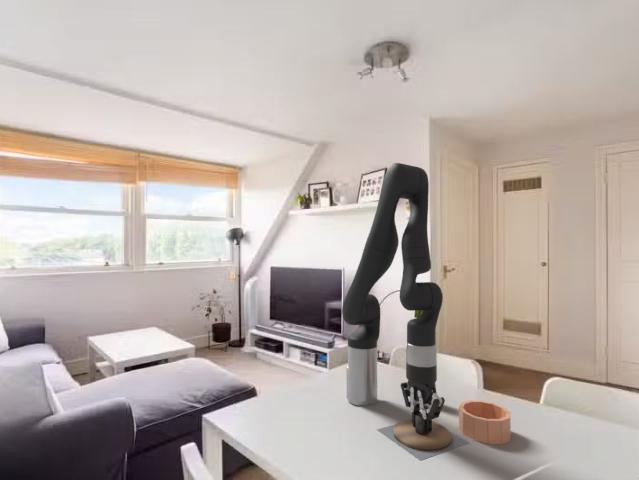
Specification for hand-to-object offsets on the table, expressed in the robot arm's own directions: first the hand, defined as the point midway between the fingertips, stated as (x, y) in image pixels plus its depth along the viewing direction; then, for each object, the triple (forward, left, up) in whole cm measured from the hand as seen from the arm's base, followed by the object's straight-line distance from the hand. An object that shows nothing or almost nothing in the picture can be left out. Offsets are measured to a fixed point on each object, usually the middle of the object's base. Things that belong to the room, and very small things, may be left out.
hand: (421, 429), depth 94 cm
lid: (0, 0, -2) cm, 2 cm away
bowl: (+6, +16, -2) cm, 17 cm away
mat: (0, 0, -2) cm, 2 cm away
